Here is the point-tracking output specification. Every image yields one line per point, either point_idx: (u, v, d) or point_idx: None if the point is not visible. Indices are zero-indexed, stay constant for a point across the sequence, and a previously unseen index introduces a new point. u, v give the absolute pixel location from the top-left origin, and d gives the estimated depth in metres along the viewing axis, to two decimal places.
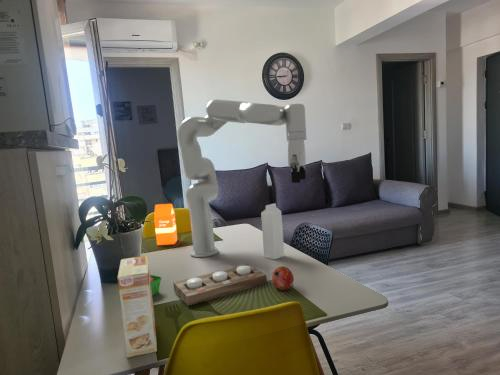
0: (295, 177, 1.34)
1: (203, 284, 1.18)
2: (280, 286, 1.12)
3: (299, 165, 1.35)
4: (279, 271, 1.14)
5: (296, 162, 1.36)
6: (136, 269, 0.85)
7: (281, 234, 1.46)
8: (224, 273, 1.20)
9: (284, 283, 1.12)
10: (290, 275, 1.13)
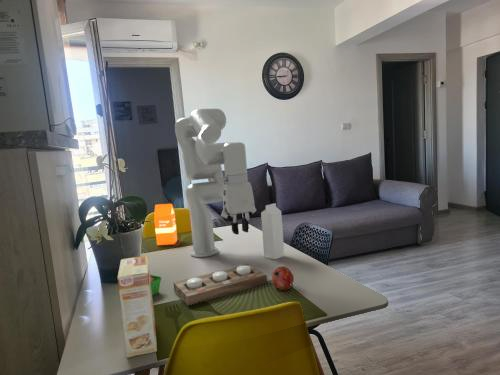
0: None
1: (203, 284, 1.18)
2: (280, 286, 1.12)
3: None
4: (279, 271, 1.14)
5: None
6: (136, 269, 0.85)
7: (281, 234, 1.46)
8: (224, 273, 1.20)
9: (284, 283, 1.12)
10: (290, 275, 1.13)
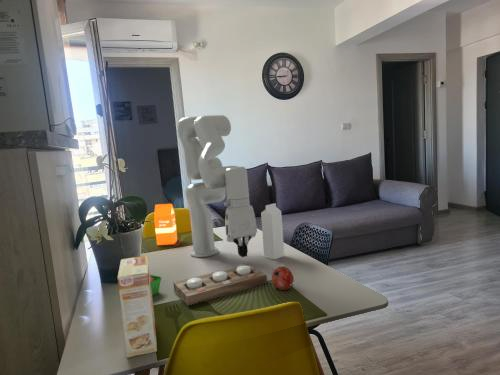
0: None
1: (203, 284, 1.18)
2: (280, 286, 1.12)
3: None
4: (279, 271, 1.14)
5: None
6: (136, 269, 0.85)
7: (281, 234, 1.46)
8: (224, 273, 1.20)
9: (284, 283, 1.12)
10: (290, 275, 1.13)
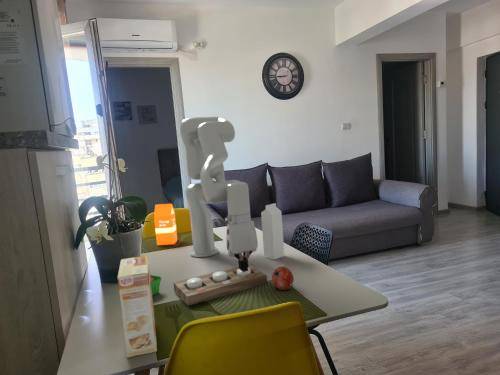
0: None
1: (203, 284, 1.18)
2: (280, 286, 1.12)
3: None
4: (279, 271, 1.14)
5: None
6: (136, 269, 0.85)
7: (281, 234, 1.46)
8: (224, 273, 1.20)
9: (284, 283, 1.12)
10: (290, 275, 1.13)
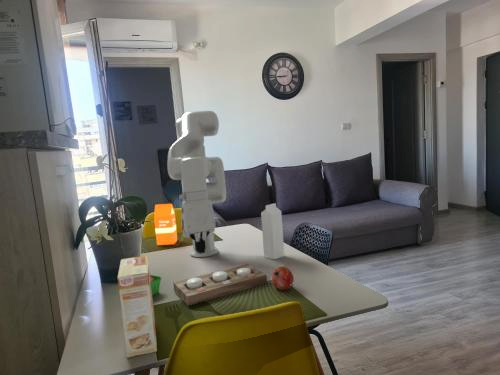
0: None
1: (203, 284, 1.18)
2: (280, 286, 1.12)
3: None
4: (279, 271, 1.14)
5: None
6: (136, 269, 0.85)
7: (281, 234, 1.46)
8: (224, 273, 1.20)
9: (284, 283, 1.12)
10: (290, 275, 1.13)
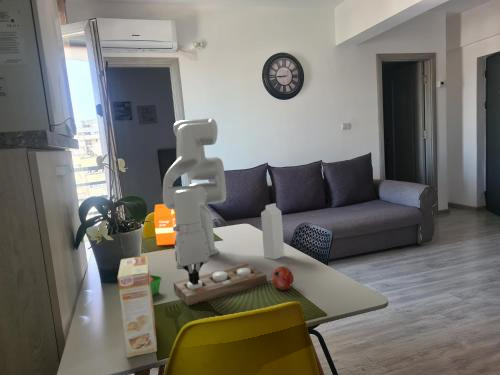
0: None
1: (203, 284, 1.18)
2: (280, 286, 1.12)
3: None
4: (279, 271, 1.14)
5: None
6: (136, 269, 0.85)
7: (281, 234, 1.46)
8: (224, 273, 1.20)
9: (284, 283, 1.12)
10: (290, 275, 1.13)
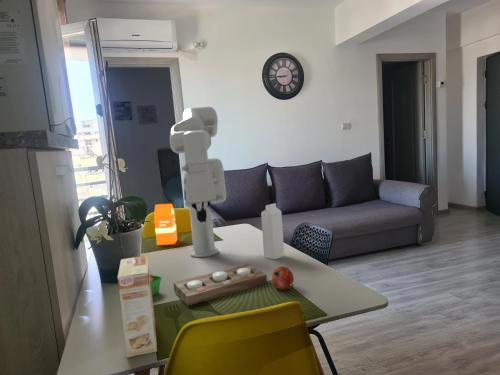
0: None
1: (203, 284, 1.18)
2: (280, 286, 1.12)
3: None
4: (279, 271, 1.14)
5: None
6: (136, 269, 0.85)
7: (281, 234, 1.46)
8: (224, 273, 1.20)
9: (284, 283, 1.12)
10: (290, 275, 1.13)
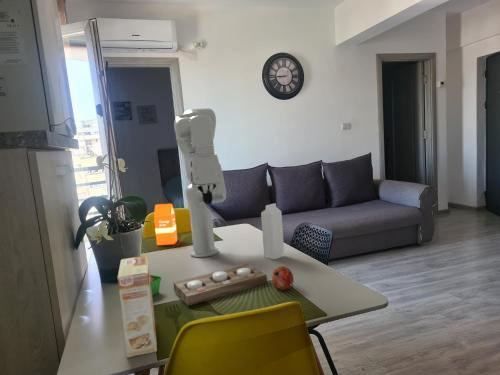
0: None
1: (203, 284, 1.18)
2: (280, 286, 1.12)
3: (209, 184, 1.29)
4: (279, 271, 1.14)
5: None
6: (136, 269, 0.85)
7: (281, 234, 1.46)
8: (224, 273, 1.20)
9: (284, 283, 1.12)
10: (290, 275, 1.13)
